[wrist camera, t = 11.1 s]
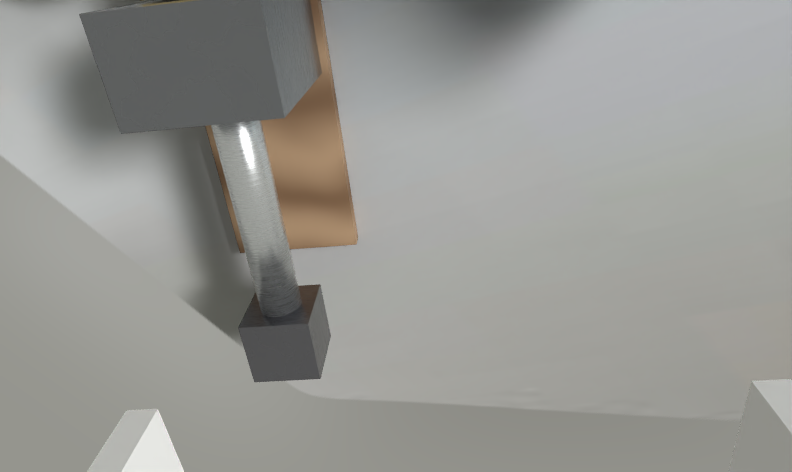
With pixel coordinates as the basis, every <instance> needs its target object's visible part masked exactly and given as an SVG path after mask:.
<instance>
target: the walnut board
mask: <svg viewBox="0 0 792 472" xmlns="http://www.w3.org/2000/svg"><path fill="white" fill-rule="evenodd" d="M310 3H311V9H312V15H313V21H314V27H315V33H316V39H317V45H318V51H319V57H320V64H321V70H322V74H321V75H320V76H319V78H318V79H317V80H316V81H315V82H314V84H313V85H312V86H311V87H310V88H309V90H308V91H307V92H306V93H305V94H304V96H303V97H302V98H301V99H300V100H299V101H298V103H297V104H296V105H295V106H294V107H293V109H292V110H291V111H290V112H289V113H288V115H287V116H286V117H285V118H281V119H271V120H261V123H262V127H263V132H264V136H265V141H266V145H267V150H268V154H269V159H270V163H271V167H272V172H273V176H274V181H275V185H276V190H277V194H278V199H279V203H280V207H281V212H282V216H283V221H284V225H285V230H286V234H287V238H288V243H289V247H290V249H300V248H314V247H327V246H341V245H355V244H357V240H358V234H357V228H356V222H355V215H354V209H353V203H352V196H351V190H350V184H349V177H348V171H347V164H346V158H345V152H344V145H343V139H342V133H341V126H340V120H339V114H338V107H337V101H336V95H335V88H334V82H333V76H332V69H331V63H330V56H329V50H328V44H327V37H326V31H325V25H324V18H323V12H322V6H321V0H310ZM205 127H206V130H207V134H208V138H209V141H210V145H211V149H212V152H213V156H214V159H215V163H216V167H217V170H218V174H219V178H220V181H221V185H222V189H223V192H224V196H225V200H226V203H227V207H228V210H229V214H230V218H231V221H232V225H233V229H234V232H235V236H236V240H237V243H238V247H239V251H240V253H245V250H244V246H243V242H242V239H241V235H240V231H239V227H238V224H237V220H236V216H235V213H234V209H233V205H232V201H231V198H230V194H229V190H228V187H227V183H226V179H225V175H224V172H223V168H222V164H221V161H220V157H219V153H218V149H217V146H216V142H215V138H214V135H213V131H212V127H211V125H208V126H205Z"/></svg>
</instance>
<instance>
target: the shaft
mask: <svg viewBox="0 0 792 472" xmlns="http://www.w3.org/2000/svg"><path fill="white" fill-rule="evenodd" d="M211 127H212V131H213V135H214V138H215V142H216V146H217V149H218V153H219V157H220V161H221V164H222V168H223V172H224V175H225V179H226V183H227V187H228V190H229V194H230V198H231V201H232V205H233V209H234V213H235V216H236V220H237V224H238V227H239V231H240V235H241V239H242V242H243V246H244V250H245V253H246V257H247V261H248V265H249V268H250V272H251V276H252V279H253V283H254V287H255V291H256V293H255V295H254V297H253V299H252V301H251V303H250V305H249V307H248V309H247V311H246V313H245V315H244V317H243V319H242V321H241V323H240V325H239V327H238V329H239V332H240V336H241V339H242V342H243V346H244V349H245V352H246V355H247V359H248V362H249V366H250V369H251V372H252V376H253V379H254V382H267V381H286V380H306V379H320V378H321V374H322V370H323V366H324V362H325V358H326V354H327V349H328V345H329V341H330V337H331V335H330V330H329V325H328V320H327V315H326V310H325V305H324V300H323V295H322V291H321V286H320V285H305V286H298V283H297V278H296V274H295V270H294V265H293V261H292V256H291V252H290V247H289V243H288V238H287V234H286V230H285V225H284V221H283V216H282V212H281V207H280V203H279V199H278V194H277V190H276V185H275V181H274V176H273V172H272V167H271V163H270V159H269V154H268V150H267V145H266V141H265V136H264V132H263V127H262V123H261V120H260V121H250V122H239V123H229V124H218V125H211Z"/></svg>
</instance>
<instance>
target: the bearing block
mask: <svg viewBox="0 0 792 472" xmlns="http://www.w3.org/2000/svg"><path fill="white" fill-rule="evenodd" d="M79 15H80V18H81V21H82V24H83V27H84V29H85V32H86V35H87V38H88V41H89V44H90V47H91V49H92V52H93V55H94V58H95V61H96V64H97V67H98V69H99V72H100V75H101V78H102V81H103V84H104V87H105V89H106V92H107V95H108V98H109V101H110V104H111V107H112V109H113V112H114V115H115V118H116V121H117V124H118V127H119V129H120V132H121V134H124V133H135V132H145V131H156V130H166V129H177V128H187V127H197V126H208V125H218V124H229V123H239V122H250V121H260V120H271V119H281V118H285V117H286V116H287V115H288V113H289V112H290V111H291V110H292V109H293V107H294V106H295V105H296V104H297V103H298V101H299V100H300V99H301V98H302V97H303V96H304V94H305V93H306V92H307V91H308V90H309V88H310V87H311V86H312V85H313V84H314V82H315V81H316V80H317V79H318V78H319V76H320V75H321V74H322V70H321V64H320V57H319V51H318V45H317V39H316V33H315V27H314V21H313V15H312V9H311V3H310V0H154V1H149V2H143V3H138V4H132V5H127V6H121V7H116V8H110V9H105V10H99V11H94V12H88V13H83V14H79Z"/></svg>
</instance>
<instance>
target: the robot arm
mask: <svg viewBox="0 0 792 472" xmlns="http://www.w3.org/2000/svg"><path fill="white" fill-rule="evenodd" d="M87 472H184V471H183V468H182V466H181V463H180V461H179V458H178V456H177V454H176V451H175V449H174V447H173V444H172V442H171V439H170V437H169V435H168V432H167V430H166V427H165V425H164V423H163V420H162V418H161V415H160V413H159V411H158V409H146V410H127V411H126V412H125V414H124V415H123V417H122V418H121V420H120V421H119V423H118V424H117V426H116V428H115V429H114V431H113V432H112V434H111V435H110V437H109V438H108V440H107V441H106V443H105V444H104V446H103V448H102V449H101V451H100V452H99V454H98V455H97V457H96V458H95V460H94V461H93V463H92V464H91V466H90V468H89V469H88V471H87ZM729 472H792V381H791V380H790V379H783V380H762V381H751V385H750V389H749V393H748V396H747V400H746V404H745V408H744V412H743V416H742V420H741V424H740V428H739V432H738V436H737V440H736V444H735V448H734V451H733V455H732V460H731V464H730V467H729Z"/></svg>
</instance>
